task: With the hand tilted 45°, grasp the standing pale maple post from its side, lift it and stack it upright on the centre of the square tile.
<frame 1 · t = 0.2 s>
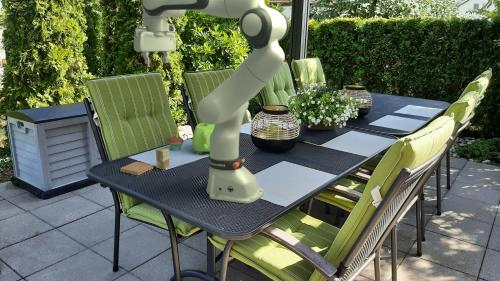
hand: (156, 63, 148), 48 cm above the table, tool pointing down, fingers open, 8 cm apart
teapot: (213, 150, 199), on the table
post: (163, 168, 171), on the table
cupcake: (175, 149, 199), on the table
tile: (137, 171, 167), on the table
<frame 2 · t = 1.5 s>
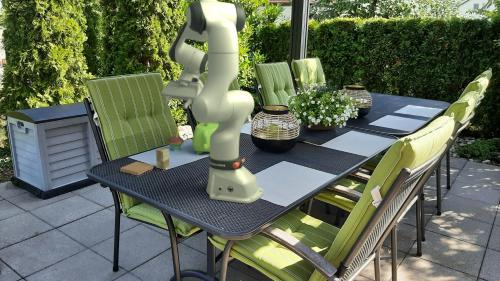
hand: (175, 106, 173), 27 cm above the table, tool tilted 45°, fingers open, 8 cm apart
nothing on the table moved.
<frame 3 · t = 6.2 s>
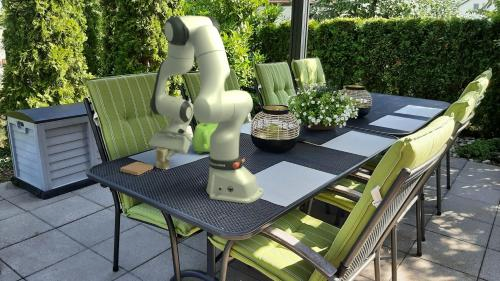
hand: (161, 158, 169), 5 cm above the table, tool tilted 45°, fingers closed on post, 4 cm apart
post: (163, 168, 171), on the table, touching gripper
everything else where it was.
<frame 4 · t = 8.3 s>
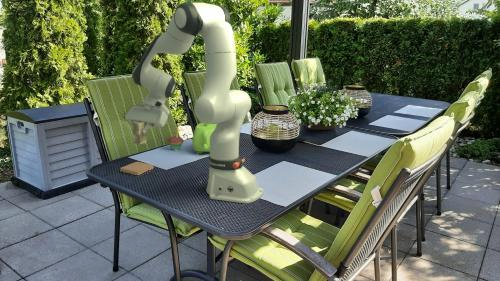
hand: (138, 132, 163), 18 cm above the table, tool tilted 45°, fingers closed on post, 4 cm apart
post: (139, 142, 165), point 13 cm above the table, touching gripper
everything else where it was.
when the fingers open (9 cm above the table, at t = 10.9 s): post drops 2 cm, point 2 cm above the table.
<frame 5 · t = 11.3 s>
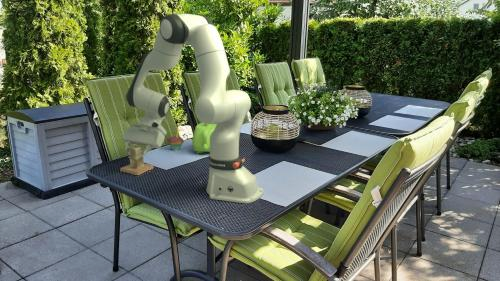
hand: (135, 152, 164), 9 cm above the table, tool tilted 45°, fingers open, 8 cm apart
post: (137, 166, 167), point 2 cm above the table
everything else where it was.
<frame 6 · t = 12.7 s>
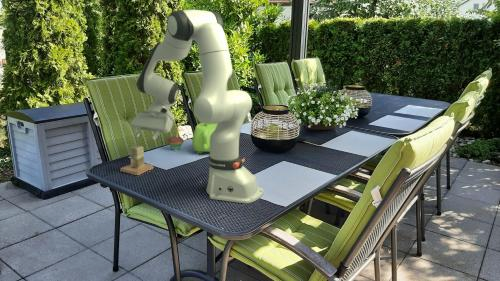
hand: (144, 137, 168), 14 cm above the table, tool tilted 45°, fingers open, 8 cm apart
nothing on the table moved.
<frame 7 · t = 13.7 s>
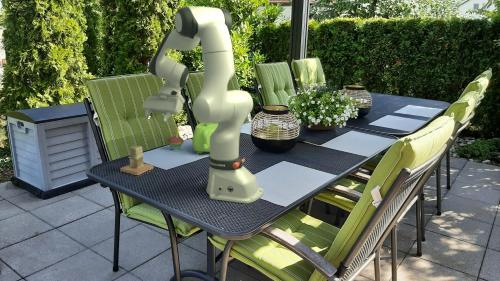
hand: (155, 119, 172), 21 cm above the table, tool tilted 45°, fingers open, 8 cm apart
nothing on the table moved.
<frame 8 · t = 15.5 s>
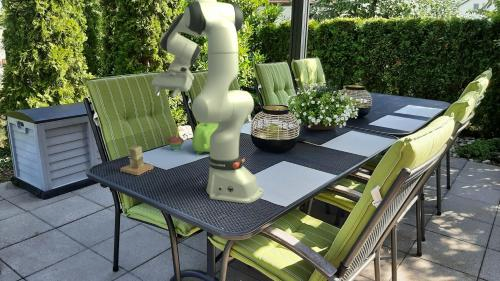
hand: (164, 96, 172), 31 cm above the table, tool tilted 45°, fingers open, 8 cm apart
post: (137, 166, 167), point 2 cm above the table, touching tile
tile: (137, 172, 167), on the table, touching post
everything else where it was.
at the end: post inside the target area on the tile (0.2 cm from its centre), point 2.6 cm above the tile's base; post tilted 2°; the gripper is holding nothing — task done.
